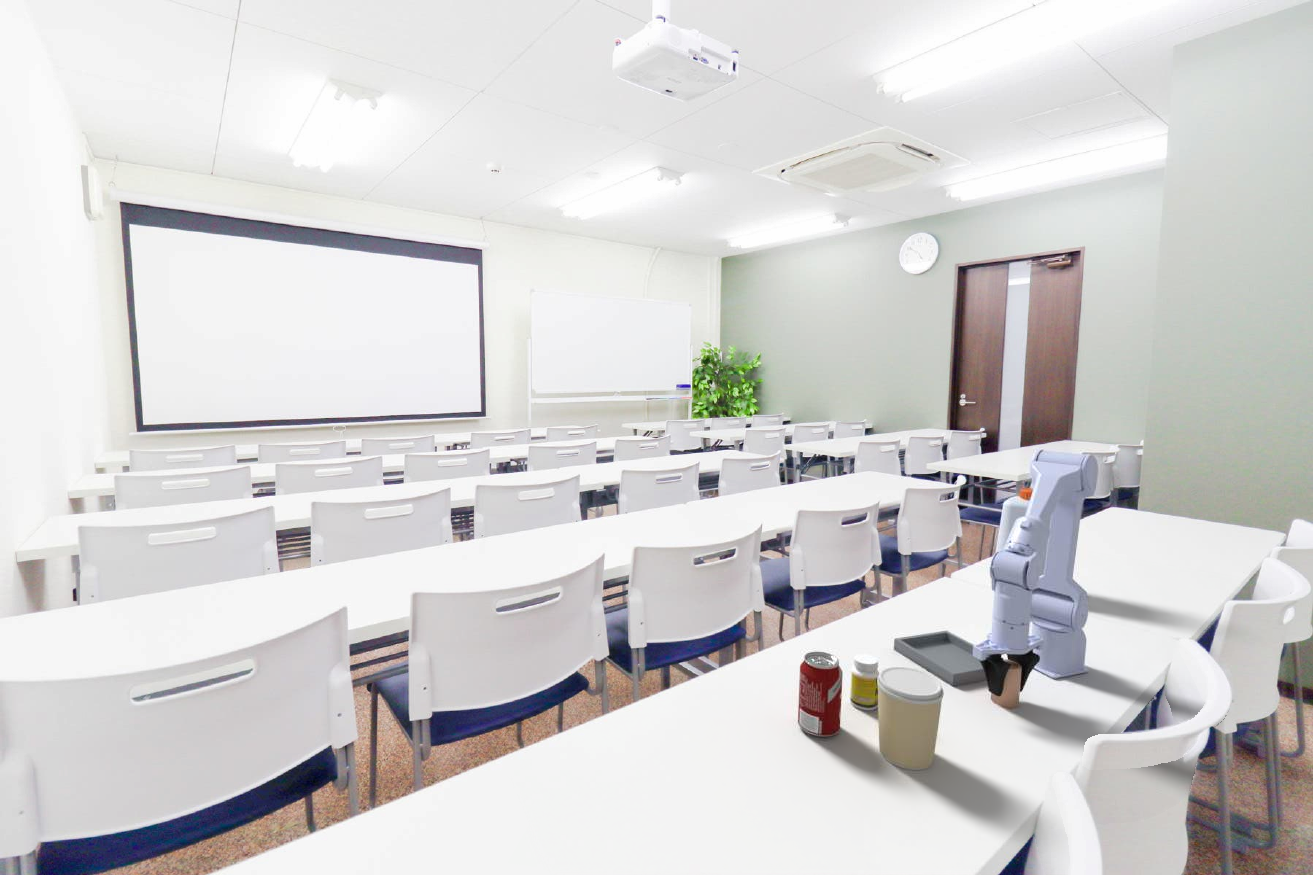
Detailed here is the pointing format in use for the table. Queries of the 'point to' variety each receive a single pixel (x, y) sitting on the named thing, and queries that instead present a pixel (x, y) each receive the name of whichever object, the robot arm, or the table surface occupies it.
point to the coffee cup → (908, 716)
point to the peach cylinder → (1010, 687)
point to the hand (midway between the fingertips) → (1005, 691)
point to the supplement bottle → (864, 682)
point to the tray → (943, 656)
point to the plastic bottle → (1010, 513)
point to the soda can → (820, 694)
